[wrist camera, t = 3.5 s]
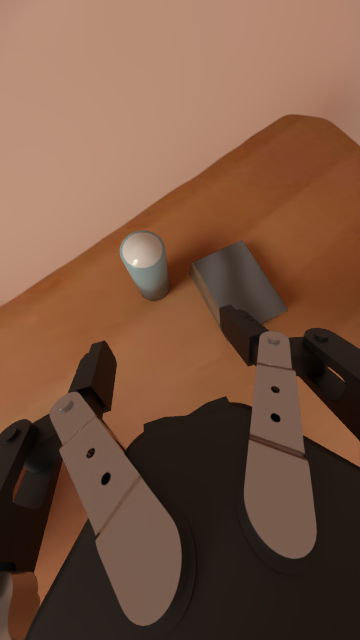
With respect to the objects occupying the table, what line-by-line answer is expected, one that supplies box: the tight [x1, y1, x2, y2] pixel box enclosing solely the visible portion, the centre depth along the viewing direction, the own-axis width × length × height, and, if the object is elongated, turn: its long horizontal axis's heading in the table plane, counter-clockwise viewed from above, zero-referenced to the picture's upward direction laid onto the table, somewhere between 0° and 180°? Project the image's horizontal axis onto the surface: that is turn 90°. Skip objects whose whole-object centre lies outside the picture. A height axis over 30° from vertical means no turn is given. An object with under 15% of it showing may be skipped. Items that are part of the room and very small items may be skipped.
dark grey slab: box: [190, 240, 288, 341], centre depth 26 cm, size 9×13×4 cm
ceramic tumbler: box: [120, 231, 169, 301], centre depth 23 cm, size 5×5×10 cm
